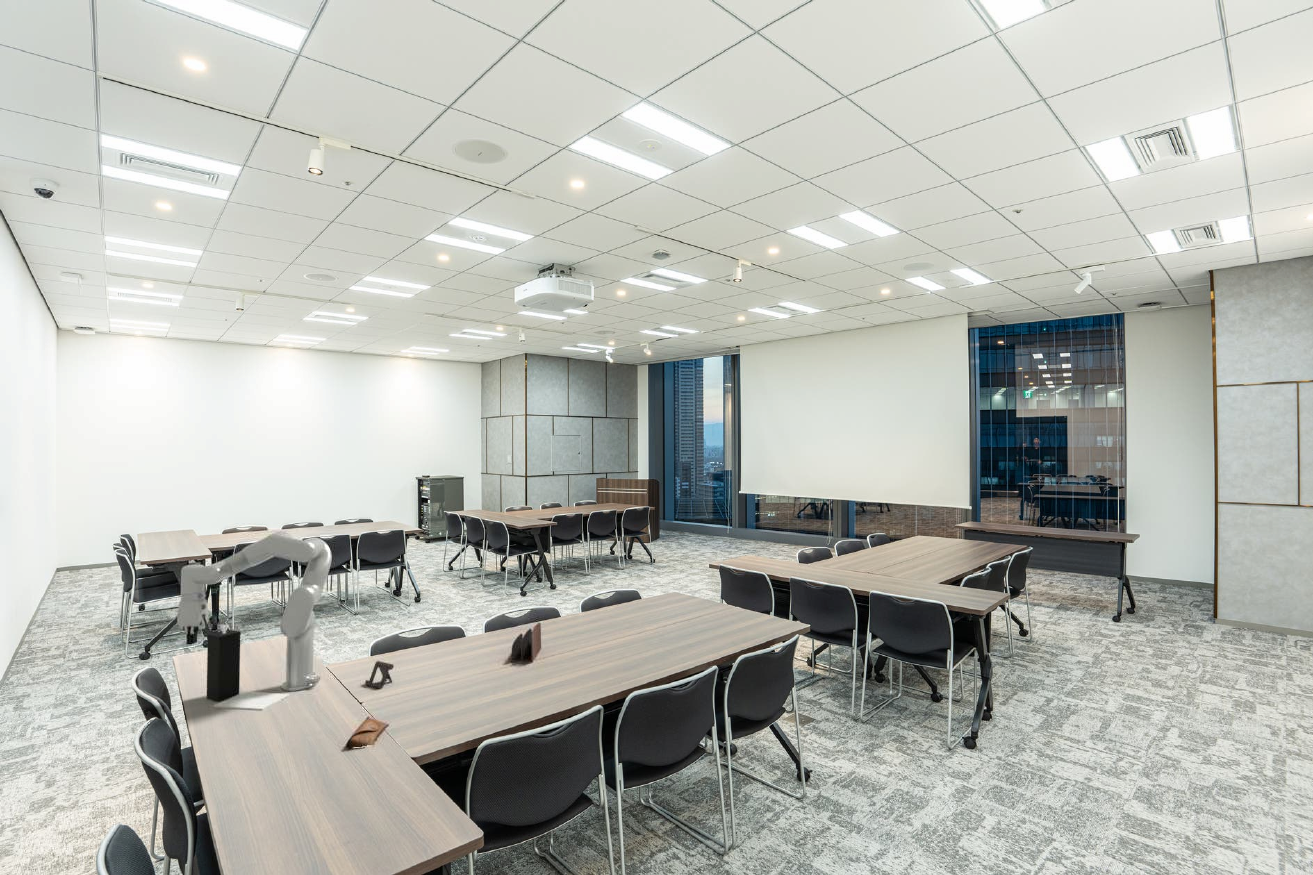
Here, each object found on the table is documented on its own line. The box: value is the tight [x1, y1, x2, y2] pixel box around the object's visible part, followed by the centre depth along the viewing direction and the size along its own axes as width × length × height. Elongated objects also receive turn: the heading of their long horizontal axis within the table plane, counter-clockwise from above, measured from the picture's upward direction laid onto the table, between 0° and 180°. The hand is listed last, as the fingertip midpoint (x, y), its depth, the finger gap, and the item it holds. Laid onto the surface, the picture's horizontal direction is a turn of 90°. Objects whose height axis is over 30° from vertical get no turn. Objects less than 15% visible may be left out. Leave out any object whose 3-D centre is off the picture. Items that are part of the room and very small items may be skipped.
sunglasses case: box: [345, 716, 390, 750], centre depth 206 cm, size 18×7×7 cm
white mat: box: [214, 691, 291, 711], centre depth 235 cm, size 20×14×1 cm
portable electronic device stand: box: [364, 660, 394, 690], centre depth 253 cm, size 9×8×8 cm
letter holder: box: [510, 622, 542, 664], centre depth 289 cm, size 10×20×14 cm, turn 179°
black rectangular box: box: [206, 624, 242, 703], centre depth 240 cm, size 8×8×28 cm
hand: (191, 643), depth 242 cm, fingers closed
